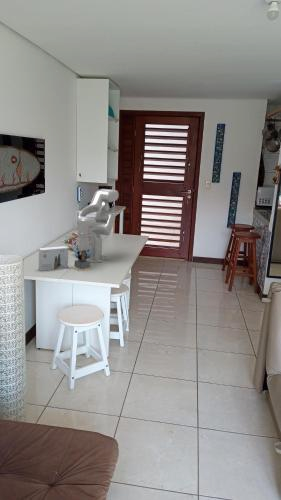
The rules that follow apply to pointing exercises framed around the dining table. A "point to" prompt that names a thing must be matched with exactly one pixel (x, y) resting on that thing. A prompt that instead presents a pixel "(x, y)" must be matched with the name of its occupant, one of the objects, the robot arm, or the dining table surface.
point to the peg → (83, 255)
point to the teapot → (79, 252)
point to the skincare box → (53, 258)
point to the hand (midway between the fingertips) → (82, 259)
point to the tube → (82, 265)
